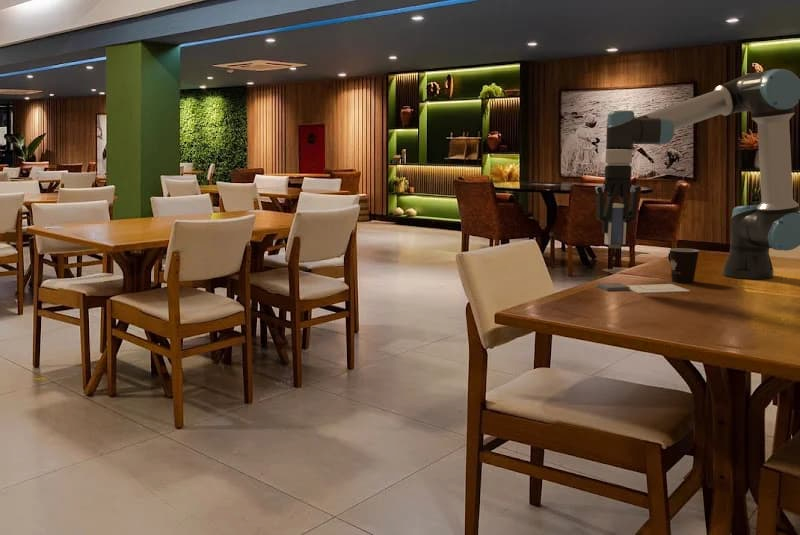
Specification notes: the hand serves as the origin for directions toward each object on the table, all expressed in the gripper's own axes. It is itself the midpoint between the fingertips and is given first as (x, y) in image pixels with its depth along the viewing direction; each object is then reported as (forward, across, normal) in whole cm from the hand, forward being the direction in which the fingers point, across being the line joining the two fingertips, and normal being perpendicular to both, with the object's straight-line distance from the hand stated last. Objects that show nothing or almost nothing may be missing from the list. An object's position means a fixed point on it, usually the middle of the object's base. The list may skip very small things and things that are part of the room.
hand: (614, 243), depth 225 cm
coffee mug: (+14, -27, -9) cm, 32 cm away
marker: (+1, 0, 0) cm, 1 cm away
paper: (+13, -12, +3) cm, 18 cm away
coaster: (+14, 0, 0) cm, 14 cm away
